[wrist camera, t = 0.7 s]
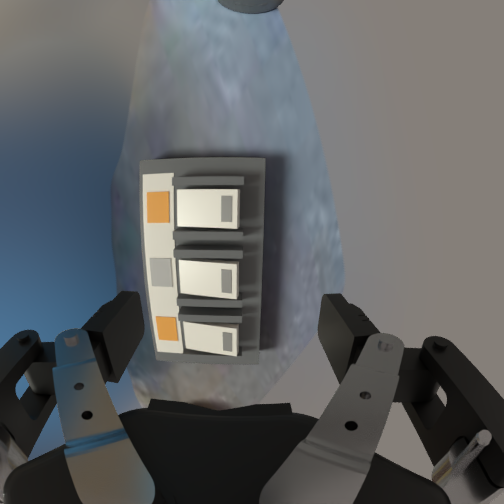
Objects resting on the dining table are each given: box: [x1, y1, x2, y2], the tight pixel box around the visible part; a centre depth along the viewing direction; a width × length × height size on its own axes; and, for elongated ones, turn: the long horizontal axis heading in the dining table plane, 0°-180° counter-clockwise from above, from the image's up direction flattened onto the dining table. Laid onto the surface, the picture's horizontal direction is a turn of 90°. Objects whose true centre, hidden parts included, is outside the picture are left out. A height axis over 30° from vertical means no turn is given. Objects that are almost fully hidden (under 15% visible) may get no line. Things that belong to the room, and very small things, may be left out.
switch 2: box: [183, 321, 239, 356], centre depth 29 cm, size 4×6×1 cm, turn 89°
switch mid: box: [179, 258, 239, 299], centre depth 27 cm, size 4×6×1 cm, turn 89°
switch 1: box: [177, 189, 240, 229], centre depth 25 cm, size 4×6×1 cm, turn 89°
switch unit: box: [140, 157, 266, 365], centre depth 29 cm, size 24×13×5 cm, turn 179°
